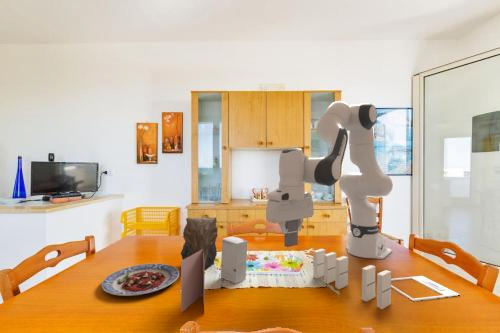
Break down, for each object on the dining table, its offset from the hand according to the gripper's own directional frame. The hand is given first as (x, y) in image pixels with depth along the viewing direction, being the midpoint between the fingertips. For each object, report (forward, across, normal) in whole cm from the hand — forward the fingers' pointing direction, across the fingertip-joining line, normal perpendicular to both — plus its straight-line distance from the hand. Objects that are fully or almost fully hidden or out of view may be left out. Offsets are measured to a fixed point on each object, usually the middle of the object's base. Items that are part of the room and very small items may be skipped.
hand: (291, 232), depth 93 cm
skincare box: (+19, +14, -16) cm, 28 cm away
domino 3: (+19, -14, +6) cm, 24 cm away
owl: (+19, +20, -34) cm, 44 cm away
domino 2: (+19, -14, +1) cm, 23 cm away
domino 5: (+19, -14, +21) cm, 31 cm away
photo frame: (+20, -35, +27) cm, 48 cm away
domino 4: (+19, -14, +11) cm, 26 cm away
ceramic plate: (+19, +43, -32) cm, 57 cm away
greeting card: (+19, +32, -6) cm, 38 cm away
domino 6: (+19, -14, +26) cm, 35 cm away
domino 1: (+5, 0, 0) cm, 5 cm away
